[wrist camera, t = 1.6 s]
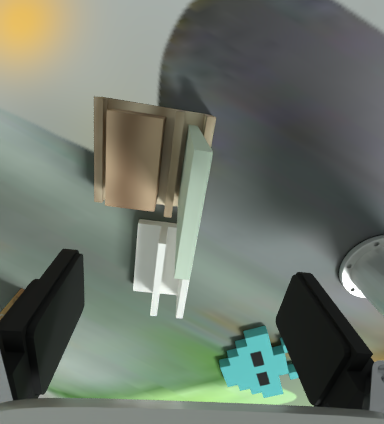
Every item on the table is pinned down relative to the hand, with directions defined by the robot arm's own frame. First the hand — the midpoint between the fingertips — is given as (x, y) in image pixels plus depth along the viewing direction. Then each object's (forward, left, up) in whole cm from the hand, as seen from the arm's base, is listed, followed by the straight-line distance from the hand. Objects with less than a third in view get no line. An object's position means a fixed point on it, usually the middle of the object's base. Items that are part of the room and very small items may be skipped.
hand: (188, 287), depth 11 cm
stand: (+1, +17, -26) cm, 31 cm away
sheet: (0, 0, -25) cm, 25 cm away
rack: (+4, 0, -26) cm, 27 cm away
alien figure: (-24, +40, -27) cm, 54 cm away
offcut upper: (+6, 0, -22) cm, 23 cm away
